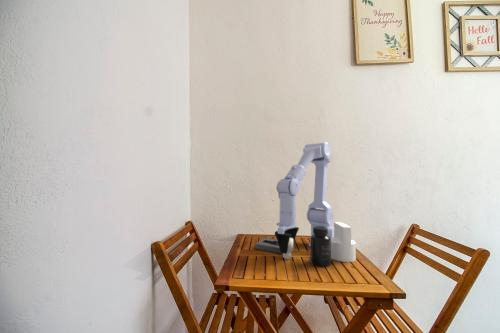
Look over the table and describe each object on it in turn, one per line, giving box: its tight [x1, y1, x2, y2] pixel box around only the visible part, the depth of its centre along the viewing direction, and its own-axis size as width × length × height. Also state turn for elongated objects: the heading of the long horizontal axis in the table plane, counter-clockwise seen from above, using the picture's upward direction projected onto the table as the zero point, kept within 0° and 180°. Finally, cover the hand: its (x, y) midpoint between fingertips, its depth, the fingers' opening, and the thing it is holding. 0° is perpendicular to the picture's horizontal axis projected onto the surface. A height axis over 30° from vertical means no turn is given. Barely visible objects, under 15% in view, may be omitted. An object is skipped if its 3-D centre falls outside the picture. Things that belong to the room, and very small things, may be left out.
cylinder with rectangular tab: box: [331, 221, 357, 263], centre depth 83 cm, size 9×9×12 cm
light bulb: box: [282, 237, 294, 261], centre depth 81 cm, size 4×4×7 cm
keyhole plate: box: [254, 237, 283, 255], centre depth 92 cm, size 12×10×2 cm
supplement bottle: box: [309, 227, 332, 268], centre depth 77 cm, size 7×7×12 cm
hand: (287, 249), depth 81 cm, fingers open, 7 cm apart
